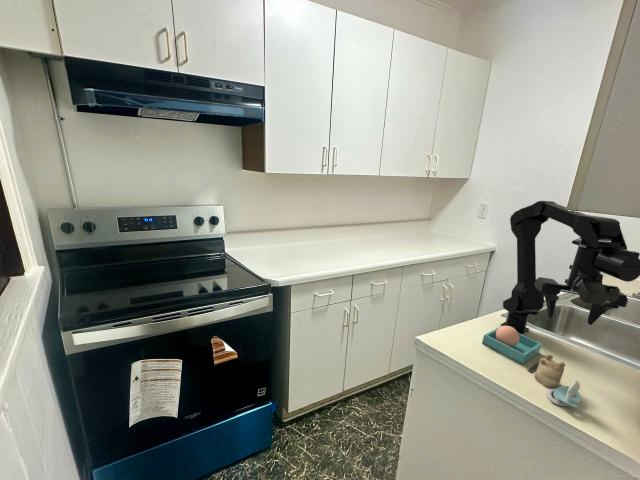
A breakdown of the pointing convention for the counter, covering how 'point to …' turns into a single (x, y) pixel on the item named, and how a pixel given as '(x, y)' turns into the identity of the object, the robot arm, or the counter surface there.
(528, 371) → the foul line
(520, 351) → the tray
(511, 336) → the ball
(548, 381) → the knobbed tan cylinder
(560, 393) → the pacifier
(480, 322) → the counter surface
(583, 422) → the counter surface
